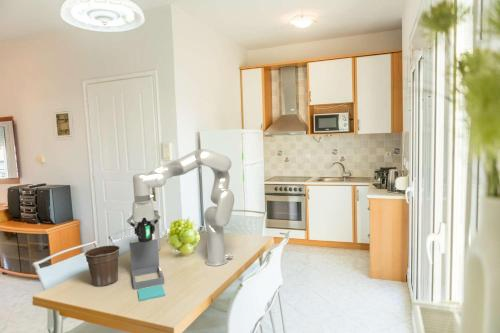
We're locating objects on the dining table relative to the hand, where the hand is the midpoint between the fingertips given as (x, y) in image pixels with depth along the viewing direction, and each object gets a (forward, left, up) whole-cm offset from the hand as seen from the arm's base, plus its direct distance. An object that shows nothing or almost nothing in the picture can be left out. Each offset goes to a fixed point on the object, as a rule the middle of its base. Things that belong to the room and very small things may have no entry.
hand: (145, 233), depth 166 cm
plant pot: (+20, -8, -24) cm, 32 cm away
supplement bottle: (0, 0, -4) cm, 4 cm away
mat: (0, +17, -23) cm, 29 cm away
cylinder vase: (-6, -48, -24) cm, 54 cm away
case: (0, 0, -23) cm, 23 cm away
